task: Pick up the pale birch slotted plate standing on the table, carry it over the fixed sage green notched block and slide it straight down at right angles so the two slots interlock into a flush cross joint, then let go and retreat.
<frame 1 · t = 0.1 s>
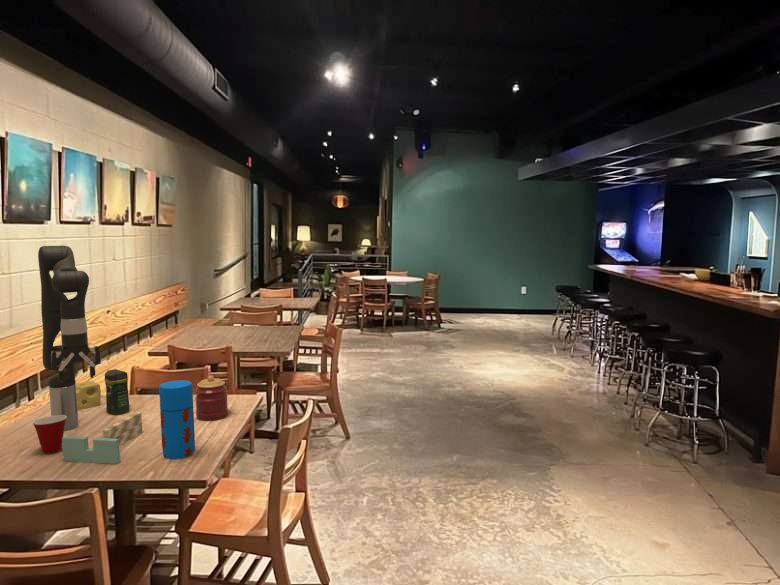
hand: (77, 379, 189), 29 cm above the table, fingers open, 8 cm apart
cheese: (85, 406, 256), on the table
sage green notched block: (91, 461, 194), on the table
plastic cup: (52, 451, 204), on the table
canister: (212, 416, 241), on the table
birch plate: (124, 441, 212), on the table
thermos: (179, 453, 201), on the table
coffee jar: (118, 412, 247), on the table
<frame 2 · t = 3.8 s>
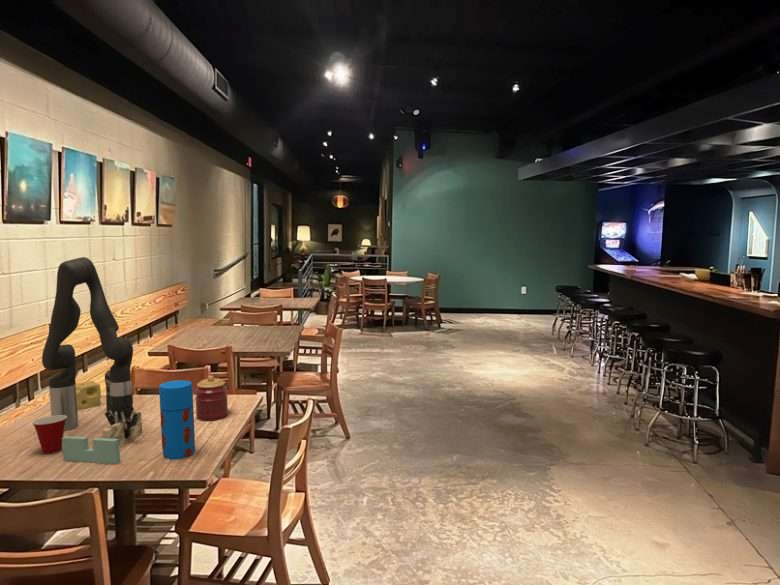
hand: (124, 437, 212), 2 cm above the table, fingers closed on birch plate, 2 cm apart
birch plate: (124, 441, 212), on the table, touching gripper
everything else where it was.
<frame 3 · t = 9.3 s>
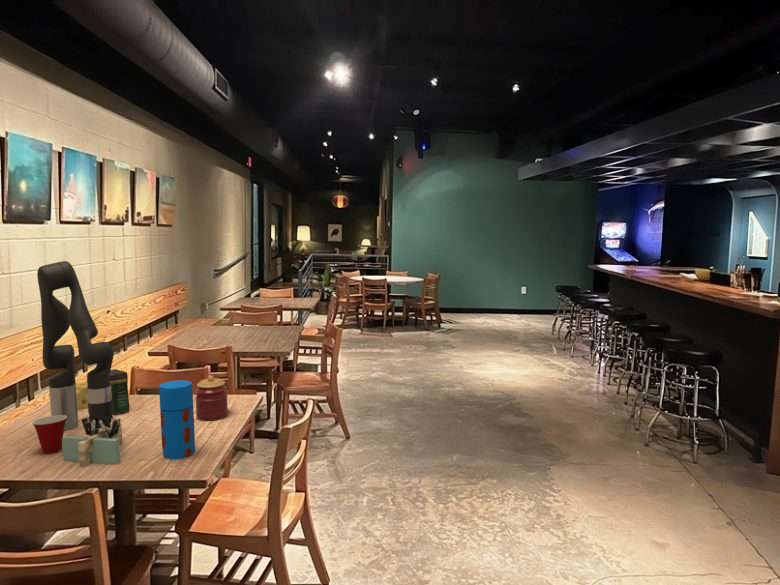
hand: (102, 446, 200), 3 cm above the table, fingers open, 4 cm apart
birch plate: (102, 454, 200), on the table, touching sage green notched block
everything else where it was.
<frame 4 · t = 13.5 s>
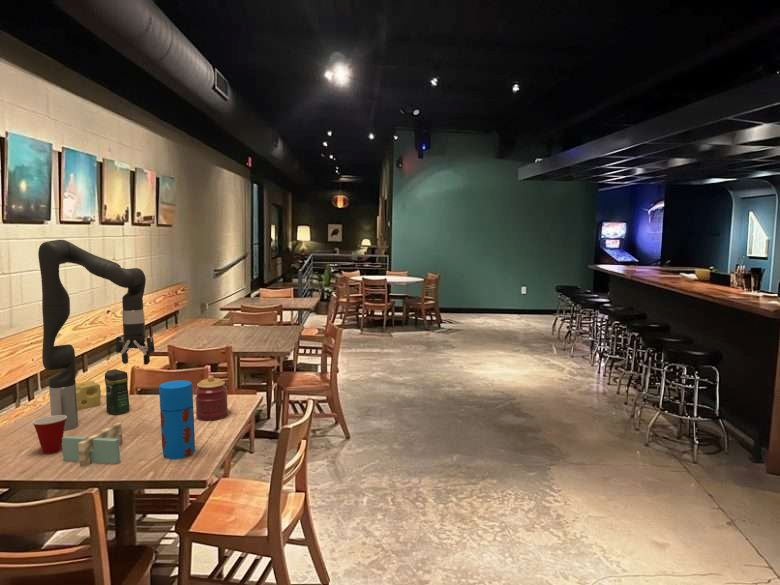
hand: (136, 363, 215), 28 cm above the table, fingers open, 8 cm apart
nothing on the table moved.
at the end: birch plate 0.4 cm from the target spot on the table beside the sage green notched block, on the table; birch plate tilted 0°; the gripper is holding nothing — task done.
